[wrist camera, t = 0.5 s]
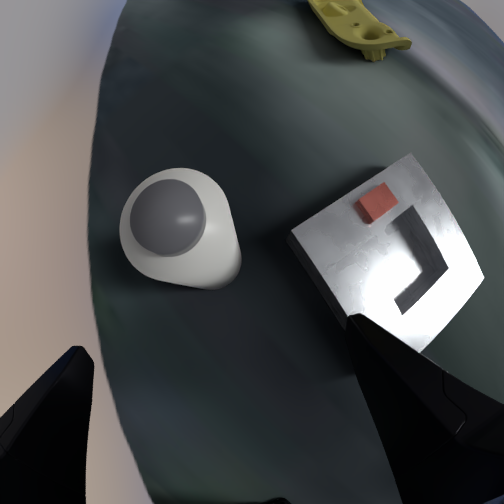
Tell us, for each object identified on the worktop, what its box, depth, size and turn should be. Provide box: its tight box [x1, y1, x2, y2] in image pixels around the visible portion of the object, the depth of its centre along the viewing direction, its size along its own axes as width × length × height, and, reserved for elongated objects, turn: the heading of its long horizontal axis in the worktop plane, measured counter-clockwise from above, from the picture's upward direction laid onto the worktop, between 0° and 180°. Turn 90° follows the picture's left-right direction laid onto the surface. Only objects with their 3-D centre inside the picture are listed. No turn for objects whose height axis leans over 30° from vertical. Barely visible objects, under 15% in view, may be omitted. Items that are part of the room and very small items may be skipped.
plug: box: [120, 168, 242, 290], centre depth 16 cm, size 5×5×12 cm
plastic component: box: [308, 0, 412, 62], centre depth 26 cm, size 20×7×10 cm
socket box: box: [285, 153, 484, 353], centre depth 20 cm, size 14×14×4 cm
